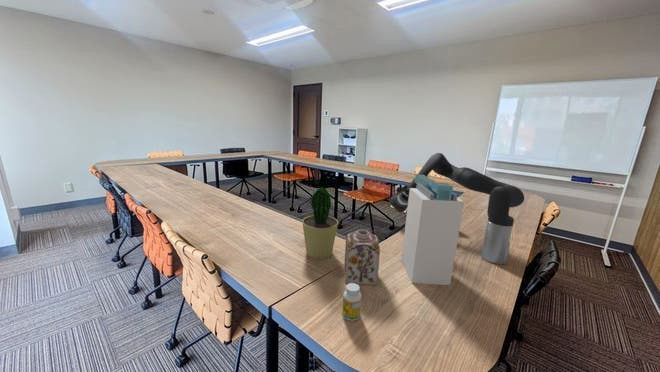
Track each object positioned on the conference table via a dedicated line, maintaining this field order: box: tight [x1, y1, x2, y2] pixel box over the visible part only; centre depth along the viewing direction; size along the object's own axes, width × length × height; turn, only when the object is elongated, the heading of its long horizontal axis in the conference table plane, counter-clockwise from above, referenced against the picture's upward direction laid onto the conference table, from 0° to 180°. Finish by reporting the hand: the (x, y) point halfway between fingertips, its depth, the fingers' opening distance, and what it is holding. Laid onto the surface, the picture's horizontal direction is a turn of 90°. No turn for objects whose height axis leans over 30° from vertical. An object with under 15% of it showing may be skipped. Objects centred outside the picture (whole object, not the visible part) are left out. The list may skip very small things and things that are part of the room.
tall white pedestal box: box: [400, 184, 465, 286], centre depth 100 cm, size 16×14×34 cm
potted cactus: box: [301, 187, 339, 260], centre depth 112 cm, size 15×15×30 cm
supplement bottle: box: [341, 283, 362, 322], centre depth 78 cm, size 5×5×10 cm
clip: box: [414, 173, 454, 201], centre depth 101 cm, size 28×5×5 cm, turn 178°
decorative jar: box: [344, 229, 381, 286], centre depth 97 cm, size 12×12×18 cm
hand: (416, 187), depth 119 cm, fingers open, 8 cm apart
